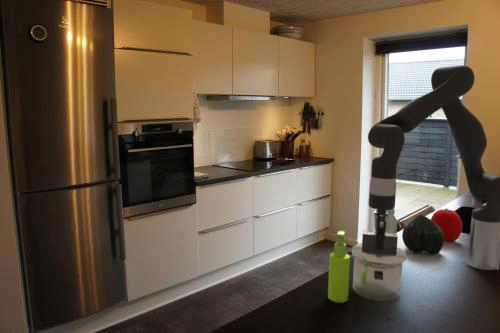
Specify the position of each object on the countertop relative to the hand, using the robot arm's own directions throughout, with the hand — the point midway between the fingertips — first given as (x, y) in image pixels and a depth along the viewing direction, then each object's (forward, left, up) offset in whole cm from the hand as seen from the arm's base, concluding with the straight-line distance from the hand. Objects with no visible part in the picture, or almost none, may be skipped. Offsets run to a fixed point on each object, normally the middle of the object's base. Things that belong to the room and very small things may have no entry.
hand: (379, 247), depth 126 cm
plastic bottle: (-4, -26, -14) cm, 30 cm away
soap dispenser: (+11, +8, -14) cm, 20 cm away
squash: (-18, -41, -14) cm, 47 cm away
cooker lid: (0, 0, -2) cm, 2 cm away
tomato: (-29, -58, -14) cm, 66 cm away
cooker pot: (0, 0, -14) cm, 14 cm away
